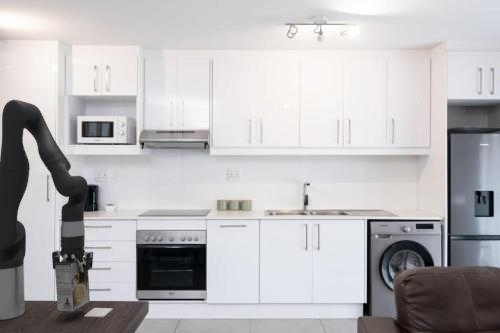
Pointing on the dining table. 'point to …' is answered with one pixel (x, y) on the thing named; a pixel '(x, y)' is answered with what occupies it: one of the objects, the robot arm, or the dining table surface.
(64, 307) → the coffee box
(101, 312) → the coaster
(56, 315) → the dining table surface
